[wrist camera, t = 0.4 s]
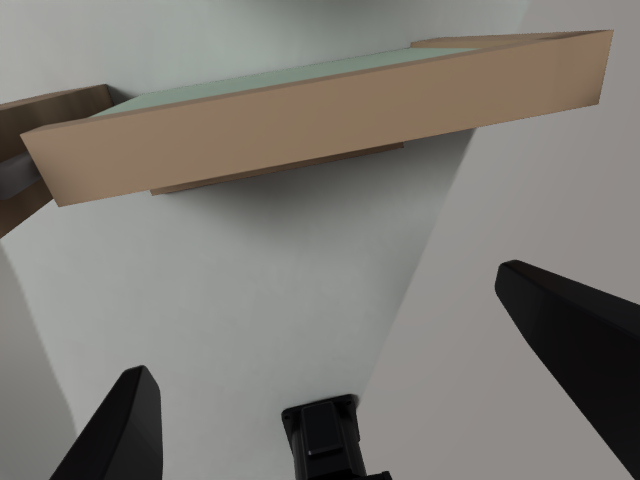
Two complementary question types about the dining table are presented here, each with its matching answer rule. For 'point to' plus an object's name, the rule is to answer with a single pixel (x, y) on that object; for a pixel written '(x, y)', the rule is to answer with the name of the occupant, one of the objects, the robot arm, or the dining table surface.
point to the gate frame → (27, 114)
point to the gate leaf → (318, 111)
